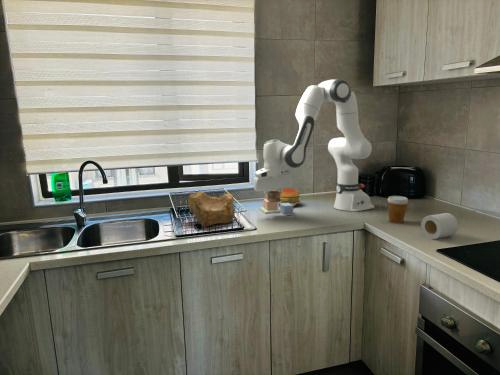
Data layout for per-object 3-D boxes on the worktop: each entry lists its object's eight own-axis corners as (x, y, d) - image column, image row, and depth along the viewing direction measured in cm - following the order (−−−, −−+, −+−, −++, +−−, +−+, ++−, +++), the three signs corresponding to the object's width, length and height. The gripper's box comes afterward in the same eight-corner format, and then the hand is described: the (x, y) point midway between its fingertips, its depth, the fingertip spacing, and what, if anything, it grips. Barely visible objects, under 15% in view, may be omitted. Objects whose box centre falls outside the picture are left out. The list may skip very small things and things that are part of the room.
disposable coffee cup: (410, 221, 180) (412, 197, 178) (401, 225, 174) (403, 201, 171) (391, 217, 187) (393, 194, 184) (382, 221, 181) (383, 197, 178)
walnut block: (275, 198, 195) (275, 189, 194) (280, 201, 190) (279, 192, 189) (267, 199, 194) (266, 190, 193) (271, 202, 188) (270, 193, 187)
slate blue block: (288, 211, 201) (288, 202, 200) (293, 214, 195) (293, 205, 194) (279, 212, 199) (279, 203, 198) (284, 215, 194) (284, 206, 193)
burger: (273, 203, 218) (273, 187, 216) (293, 201, 223) (294, 185, 220) (282, 209, 206) (282, 191, 204) (304, 206, 210) (304, 189, 208)
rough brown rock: (185, 231, 174) (184, 201, 169) (189, 217, 189) (188, 190, 185) (234, 231, 175) (234, 201, 170) (234, 218, 190) (234, 190, 186)
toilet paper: (436, 231, 165) (439, 210, 163) (456, 238, 156) (459, 216, 154) (420, 235, 161) (422, 213, 159) (439, 242, 152) (441, 219, 150)
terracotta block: (273, 206, 206) (273, 198, 205) (277, 209, 201) (277, 200, 200) (263, 207, 205) (263, 199, 203) (267, 210, 199) (267, 201, 198)
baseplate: (275, 207, 209) (275, 205, 209) (282, 211, 200) (282, 210, 200) (258, 209, 206) (258, 207, 206) (265, 213, 197) (265, 212, 196)
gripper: (288, 168, 194) (289, 193, 197) (252, 172, 188) (253, 198, 191) (293, 170, 188) (294, 196, 191) (256, 174, 182) (257, 201, 185)
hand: (273, 197), depth 191 cm, fingers closed on walnut block, 5 cm apart
